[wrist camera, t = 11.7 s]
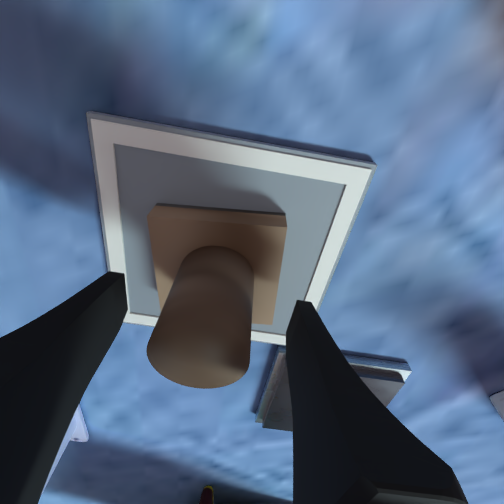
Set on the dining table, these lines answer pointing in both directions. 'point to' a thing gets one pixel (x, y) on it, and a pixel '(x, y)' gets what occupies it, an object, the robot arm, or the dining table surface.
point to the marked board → (222, 203)
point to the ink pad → (368, 369)
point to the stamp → (212, 288)
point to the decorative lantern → (207, 495)
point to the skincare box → (498, 403)
